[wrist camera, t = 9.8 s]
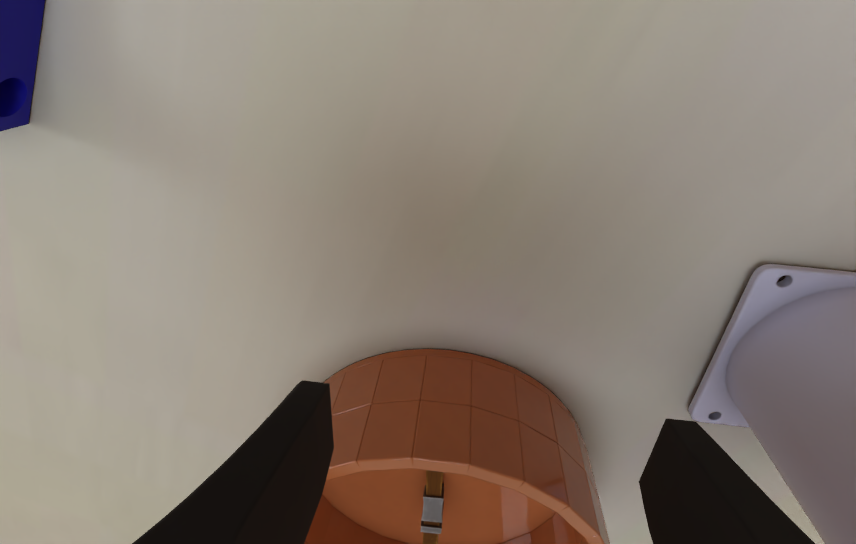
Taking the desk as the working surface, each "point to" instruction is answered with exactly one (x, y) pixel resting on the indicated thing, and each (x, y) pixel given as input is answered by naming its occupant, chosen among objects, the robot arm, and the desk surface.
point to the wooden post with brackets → (432, 507)
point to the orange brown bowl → (453, 455)
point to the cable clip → (18, 58)
